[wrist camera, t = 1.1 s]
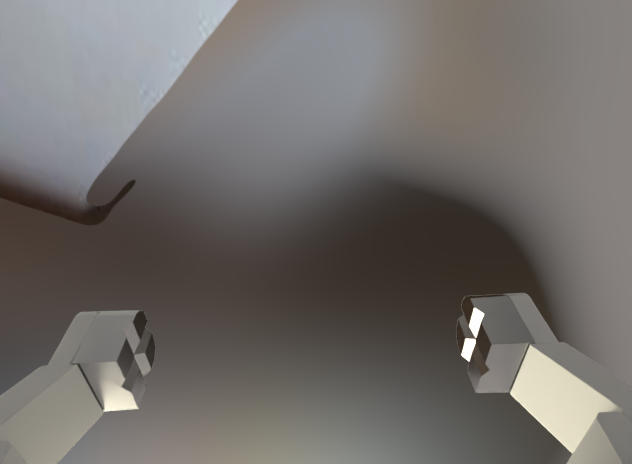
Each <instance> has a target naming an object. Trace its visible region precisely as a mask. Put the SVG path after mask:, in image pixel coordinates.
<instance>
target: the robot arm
mask: <svg viewBox="0 0 632 464" xmlns="http://www.w3.org/2000/svg"><path fill="white" fill-rule="evenodd" d="M461 308H462V310H463V313H464V315H462V316H461V317H460V318H459V319H458V322H457V327H456V336H457V343H458V347H459V350H460V353H461V355H462V356H463V357H464V358H466V359H467V360H468V361H469V365H468V369H467V371H468V374H469V376H470V379H471V381H472V384H473V387H474V389H475V392H476V393H496V392H511V393H510V394H511V395H512V396H513V397H514V398H515V399H516V400H517V401H518V402H519V403H520V404H521V405H522V406H523V407H524V408H525V409H526V410H527V411H528V412H529V413H531V415H533V416H534V417H535V418H536V419H537V420H538V421H539V422H540V423H541V424H542V425H543V426H544V427H545V428H546V429H547V430H548V431H549V432H550V433H551V434H553V436H554V437H556V438H557V439H558V440H559V441H560V442H561V443H562V444H563V445H564V446H565V447H566V448H567V449H568V450H569V451H570V452H571V453H572V456H571V457H570V459H569V461H568V462H567V464H632V385H630V384H629V383H627V382H625V381H624V380H622V379H621V378H619V377H617V376H616V375H615V374H613V373H611V372H610V371H608V370H607V369H605V368H604V367H602V366H601V365H599V364H597V363H596V362H594V361H593V360H591V359H590V358H588V357H587V356H585V355H583V354H582V353H580V352H579V351H577V350H576V349H574V348H572V347H571V346H569V345H568V344H566V343H565V342H562V343H559V342H558V341H557V339H556V338H555V336H554V335H553V333H552V331H551V330H550V328H549V327H548V325H547V323H546V322H545V320H544V319H543V317H542V316H541V314H540V312H539V311H538V309H537V308H536V307H535V305H534V303H533V301H532V300H531V298H530V297H529V295H527V294H526V293H516V294H515V293H514V294H496V295H477V296H466V297H465V298H464V299H463V301H462V305H461ZM147 321H148V320H147V318H146V316H145V314H144V311H101V312H80V313H79V314H78V315H76V316H75V318H74V320H73V321H72V323H71V325H70V327H69V329H68V330H67V332H66V334H65V335H64V337H63V339H62V341H61V342H60V344H59V346H58V348H57V350H56V351H55V353H54V355H53V357H52V358H51V360H50V362H49V364H48V365H47V366H40V367H39V368H38V369H36V370H35V371H34V372H33V373H31V374H30V375H28V376H27V377H26V378H24V379H23V380H21V381H20V382H19V383H17V384H16V385H15V386H13V387H12V388H11V389H9V390H8V391H6V392H5V393H4V394H2V395H1V396H0V464H57V463H58V462H59V461H60V460H61V459H62V458H63V457H64V456H65V454H66V453H67V452H68V451H69V450H70V449H71V448H72V447H73V446H74V444H76V442H77V441H78V440H79V439H80V438H81V437H82V436H83V435H84V434H85V433H86V432H87V431H88V429H89V428H90V427H91V426H92V425H93V424H94V423H95V422H96V421H97V420H98V419H99V418H100V417H101V415H102V414H103V411H113V410H127V409H138V408H139V405H140V402H141V399H142V396H143V393H144V390H145V387H146V383H145V380H144V378H143V376H145V375H146V374H147V373H148V372H149V371H150V370H151V369H152V365H153V362H154V358H155V341H154V337H153V334H152V332H150V331H149V330H147V329H146V328H145V326H146V324H147Z"/></svg>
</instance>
